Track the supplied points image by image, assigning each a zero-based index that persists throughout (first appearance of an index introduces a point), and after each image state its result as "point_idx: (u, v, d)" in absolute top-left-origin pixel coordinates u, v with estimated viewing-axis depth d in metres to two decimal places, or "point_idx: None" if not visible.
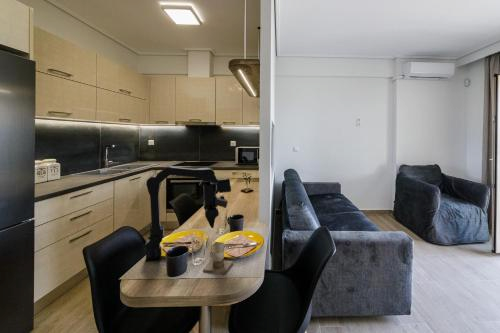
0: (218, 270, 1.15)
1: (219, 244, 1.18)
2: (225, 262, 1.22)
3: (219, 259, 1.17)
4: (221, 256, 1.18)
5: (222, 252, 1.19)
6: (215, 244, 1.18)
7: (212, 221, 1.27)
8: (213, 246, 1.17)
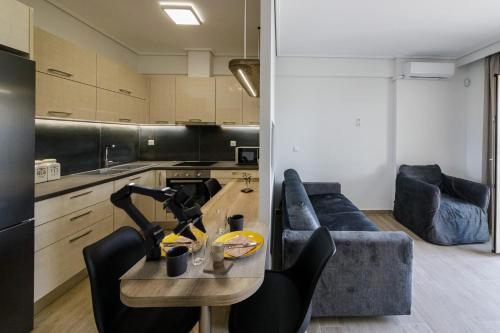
0: (218, 270, 1.15)
1: (219, 244, 1.18)
2: (225, 262, 1.22)
3: (219, 259, 1.17)
4: (221, 256, 1.18)
5: (222, 252, 1.19)
6: (215, 244, 1.18)
7: (189, 235, 1.15)
8: (213, 246, 1.17)
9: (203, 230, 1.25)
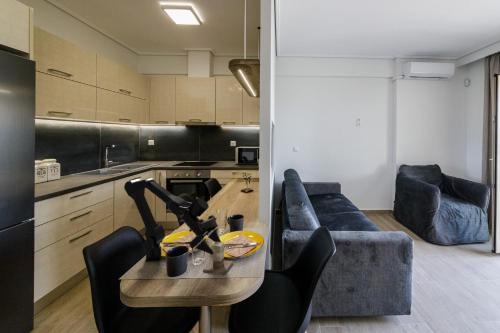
0: (218, 270, 1.15)
1: (219, 244, 1.18)
2: (225, 262, 1.22)
3: (219, 259, 1.17)
4: (221, 256, 1.18)
5: (222, 252, 1.19)
6: (215, 244, 1.18)
7: (206, 248, 1.14)
8: (213, 246, 1.17)
9: None
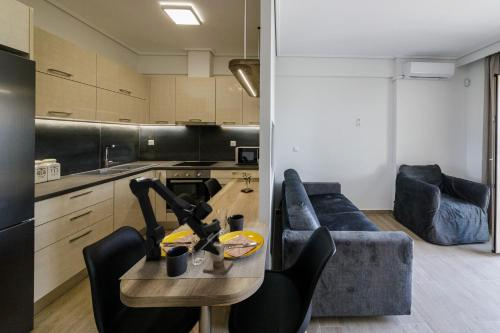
0: (218, 270, 1.15)
1: (219, 244, 1.18)
2: (225, 262, 1.22)
3: (219, 259, 1.17)
4: (221, 256, 1.18)
5: (222, 252, 1.19)
6: (215, 244, 1.18)
7: (212, 249, 1.16)
8: None
9: None
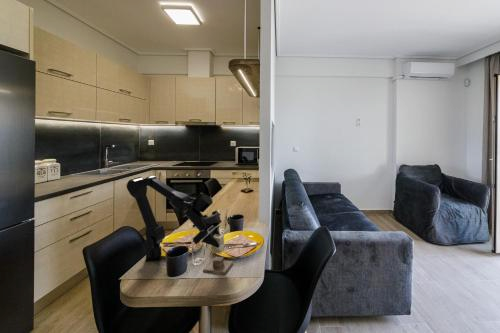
0: (218, 270, 1.15)
1: (218, 236, 1.18)
2: (225, 262, 1.22)
3: (219, 251, 1.16)
4: (221, 248, 1.17)
5: (222, 244, 1.18)
6: (215, 236, 1.17)
7: (212, 241, 1.15)
8: None
9: None
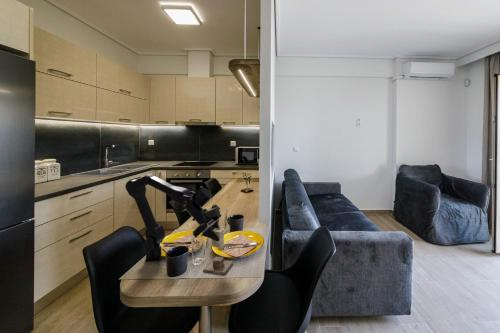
0: (218, 270, 1.15)
1: (218, 229, 1.17)
2: (225, 262, 1.22)
3: (219, 245, 1.16)
4: (221, 242, 1.17)
5: (222, 238, 1.18)
6: (215, 230, 1.17)
7: (212, 235, 1.15)
8: None
9: None
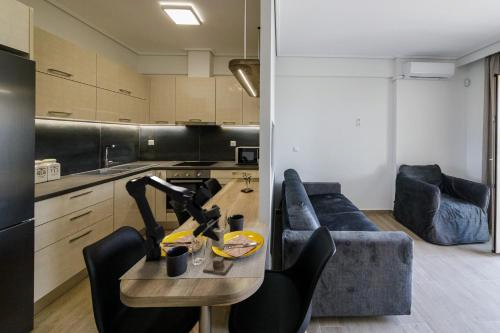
0: (218, 270, 1.15)
1: (218, 229, 1.17)
2: (225, 262, 1.22)
3: (219, 245, 1.16)
4: (221, 242, 1.17)
5: (222, 238, 1.18)
6: (215, 230, 1.17)
7: (212, 235, 1.15)
8: None
9: None
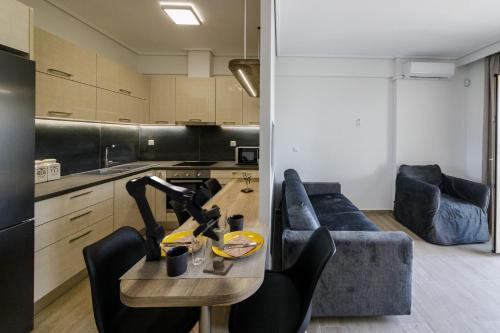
0: (218, 270, 1.15)
1: (218, 229, 1.17)
2: (225, 262, 1.22)
3: (219, 245, 1.16)
4: (221, 242, 1.17)
5: (222, 238, 1.18)
6: (215, 230, 1.17)
7: (212, 235, 1.15)
8: None
9: None
